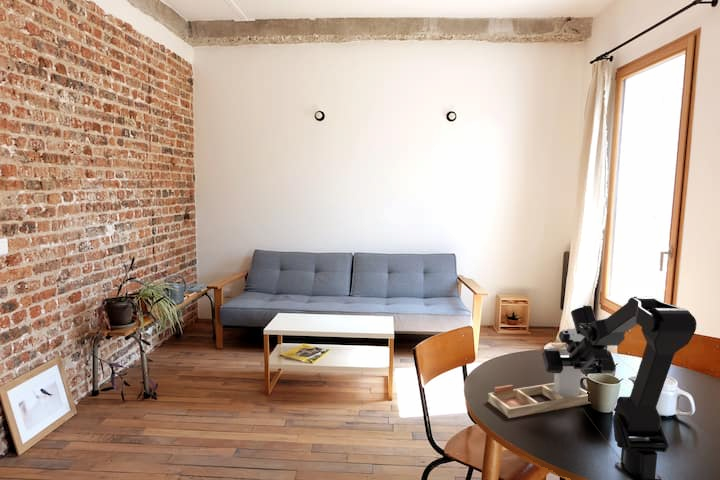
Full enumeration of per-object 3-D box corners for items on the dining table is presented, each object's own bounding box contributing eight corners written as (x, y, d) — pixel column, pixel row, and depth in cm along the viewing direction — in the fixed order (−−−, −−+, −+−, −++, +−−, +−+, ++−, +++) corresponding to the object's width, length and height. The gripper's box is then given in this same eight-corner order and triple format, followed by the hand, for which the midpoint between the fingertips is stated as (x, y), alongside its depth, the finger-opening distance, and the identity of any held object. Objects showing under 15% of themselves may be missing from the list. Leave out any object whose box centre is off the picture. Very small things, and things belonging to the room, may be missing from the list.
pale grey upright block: (578, 400, 133) (581, 359, 131) (558, 400, 133) (560, 359, 131) (573, 395, 136) (575, 355, 135) (553, 395, 136) (555, 355, 135)
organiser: (592, 403, 131) (593, 389, 131) (509, 418, 122) (509, 404, 122) (566, 388, 141) (567, 376, 140) (487, 401, 132) (488, 388, 131)
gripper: (613, 323, 126) (590, 347, 138) (546, 322, 126) (530, 346, 138) (627, 361, 119) (602, 382, 131) (556, 360, 119) (538, 382, 131)
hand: (567, 372), depth 133 cm, fingers open, 9 cm apart
